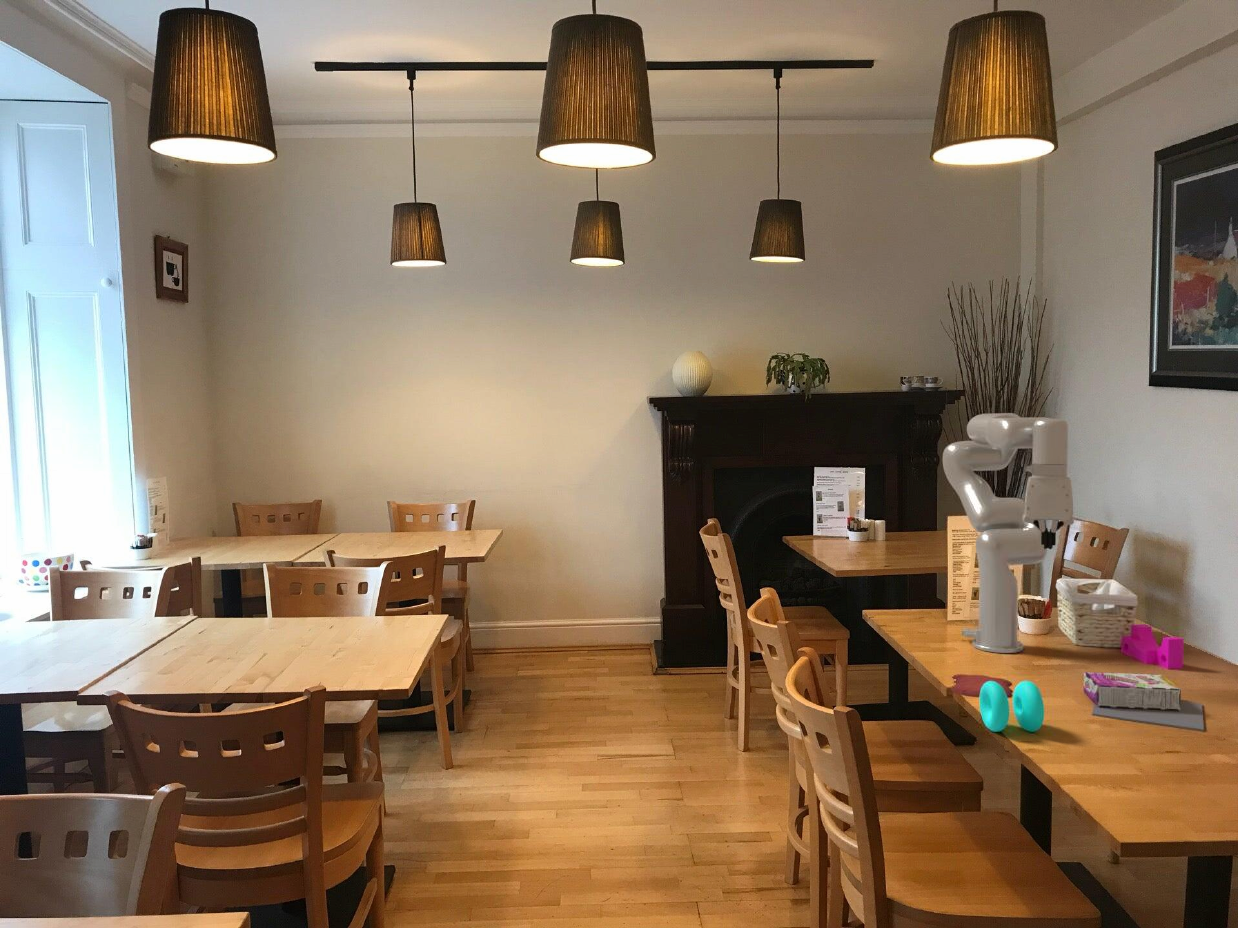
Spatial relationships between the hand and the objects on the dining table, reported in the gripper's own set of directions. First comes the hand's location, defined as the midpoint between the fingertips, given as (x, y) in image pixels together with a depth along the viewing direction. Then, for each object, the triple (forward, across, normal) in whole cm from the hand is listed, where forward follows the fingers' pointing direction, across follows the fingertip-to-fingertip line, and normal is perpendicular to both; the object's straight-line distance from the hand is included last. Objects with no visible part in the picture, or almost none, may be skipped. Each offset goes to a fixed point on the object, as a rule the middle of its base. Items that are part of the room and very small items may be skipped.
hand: (1048, 548), depth 221 cm
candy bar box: (+28, +10, -15) cm, 34 cm away
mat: (+31, +22, -16) cm, 41 cm away
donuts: (+31, -2, -42) cm, 52 cm away
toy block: (+32, +21, +27) cm, 47 cm away
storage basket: (+32, +7, +45) cm, 55 cm away
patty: (+32, -12, -17) cm, 38 cm away
